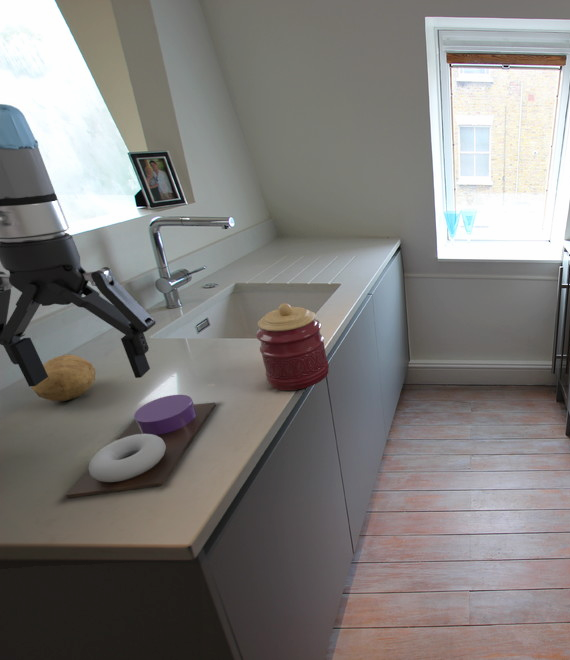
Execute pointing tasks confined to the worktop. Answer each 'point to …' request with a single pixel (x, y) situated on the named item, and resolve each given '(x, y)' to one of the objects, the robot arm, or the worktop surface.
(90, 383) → the potato
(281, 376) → the kitchen canister
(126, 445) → the donut
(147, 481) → the placemat
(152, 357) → the worktop surface
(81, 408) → the worktop surface
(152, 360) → the worktop surface
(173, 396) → the purple hockey puck
